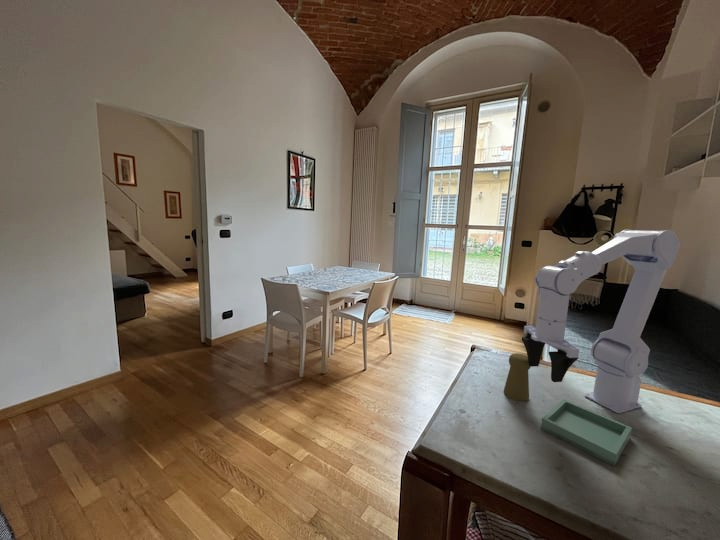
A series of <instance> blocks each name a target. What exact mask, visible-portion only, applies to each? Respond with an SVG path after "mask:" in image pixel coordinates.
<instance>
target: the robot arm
mask: <svg viewBox="0 0 720 540" xmlns="http://www.w3.org/2000/svg"><path fill="white" fill-rule="evenodd" d="M680 246H681V244H680V241H679V238H678V235H677V233H676V232H674V231H673V230H671V229H665V230H641V229H640V230H635V229H630V228H629V229H623V230H622V231H620V232H617V233H615V234H614V236H613V237H612V239H611V240H609V241H607V242H606V243H604V244H603V245H601V246H600V247H598V248H596V249H595V250H593V251H583V250H581V251H580V250H578V251H576V252H575V253H574V255H572V256H570V257H569V258H566V259H565V260H560V261H558V263H557V264H555V265H546V266H544V267H542V268H540V269H539V270H538V272H537V274H536V276H535V277H534V283H535V286H536V287H537V296H539V297H538V304H537V314H536V320H535V321H536V322H535V323H536V324H535V326H532V325H523V326H524V327H523V334H525V335H526V336H522V337H521V341H522V343H523V345H524V347H525V351H526V356H528V362H529V366H531V367H532V368H533V367H539V365H540V363H541V358H542V352H543V349H544V347H545V344H546V345H548V346H550V347H552V348H553V349H555V350H557V351H555V350H553V351H548V356H549V359H550V364H551V365H550V366H551V369H550V378H551V379H550V380H551V382H553V383H562V381H563V380H564V377H565V375H566V373H567V372H568V371H569V369H570V367H571V366H572V365H573V364H574V363H575V362H576V361H577V360H578V359H579V354H580V348H578V347H576V346H575V345H573V344H572V343H571V342H570V341H568V340H567V339H566V338H565V333H566V332H565V331H566V325H567V319H568V318H567V317H568V310H569V302H570V296H571V294H573V293H575V291H576V290H577V289H578V288H579V285H580V284H581V283H582V282H583V281H585V280H587V279H589V278H591V277H593V276H595V275H597V274H598V273H600V272H601V270H602V268H603V265H606V264H607V263H610V262H611V261H615V260H617V259H618V258H622V259H623V260H624V261H625V262H626V263H627V264H628V265H631V266H632V268H633V269H634V272H633V275H632V278H631V280H630V283H629V285H628V287H627V291H626V293H625V296H624V298H623V302H622V303H621V306H620V308H619V311H618V313H617V316H616V319H615V320H614V321H615V322H614V324H613V327H612V328H611V329H608V330H605V331H602V332H600V333H599V336H598V337H597V339H596V340H595V341H594V342H593V343H592V345H591V347H590V354H591V357H592V359H594V364H596V365H597V368H596V373H595V380H594V385H593V391H592V392H588V393H585V394H584V397H586V398H588V399H589V400H591V401H593V402H595V403H597V404H599V405H601V406H603V407H605V408H607V409H608V410H611V411H612V412H615V413H616V414H622V413H624V412H628V411H631V410H635V409H638V408H642V406H643V404H641V403H639V396H640V391H641V387H642V386H641V385H642V379H641V376H640V375H642V374H644V372H646V370H647V369H648V366H649V355H650V352H651V349H650V348H649V346H648V345H647V344H646V343H645V341H644V340H643V339H642V338H641V336H642V332H643V330H644V328H645V326H646V324H647V323H646V322H647V320H648V319H649V316H650V313H651V311H652V308H653V306H654V303H655V300H656V298H657V296H658V292H659V291H660V288H661V285H662V283H663V280H664V278H665V276H666V273H667V271H668V270H670V269H671V268H672V267H673V264H674V262H675V259H676V257H677V254H678V252H679V250H680V248H681V247H680ZM620 343H621V344H620ZM531 367H530V368H531Z"/></svg>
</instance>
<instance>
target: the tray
mask: <svg viewBox="0 0 720 540" xmlns="http://www.w3.org/2000/svg"><path fill="white" fill-rule="evenodd" d="M540 430H543V431H544V432H547V433H549V434H550V435H553V436H554V437H556V438H558V439H560V440H562V441H564V442H565V443H568V444H570V445H572V446H574V447H576V448H578V449H580V450H581V451H584V452H586V453H587V454H590V455H591V456H593V457H595V458H597V459H599V460H601V461H602V462H605V463H607V464H609V465H610V466H613V467H615V466H616V464H617V462H618V461H619V458H620V456H622V454H623V452H624V450H625V448H626V446H627V444H628V443H629V441H630V439H631V436H632V430H633V427H631V426H629V425H628V424H627V425H626V424H625V423H622V422H619V421H617V420H615V419H612V418H610V417H608V416H606V415H603V414H600V413H598V412H596V411H593V410H591V409H589V408H587V407H584V406H581V405H579V404H576V403H574V402H571V401H569V400H567V399H565V398H563V399H562V400H561V401H560V402H559V403H558V404H556V405H555V406H554V407H553V408H552V409H550V411H549V412H547V413H546V414H545V415H544V416H543V417H541V424H540Z"/></svg>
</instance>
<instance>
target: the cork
mask: <svg viewBox="0 0 720 540" xmlns="http://www.w3.org/2000/svg"><path fill="white" fill-rule="evenodd" d="M508 363H509V370H508V372H507V377H506V382H505V384H504V388H503V394H504V395H505V396H506V397H507V398H509V399H510V400H514V401H516V402H528V401H529V400H530V384H529V383H530V381H529V371H530V369H531V366H529V362H528V356H527V354H526V355H525V354H524V353H512V354H510V356H509V358H508Z"/></svg>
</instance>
